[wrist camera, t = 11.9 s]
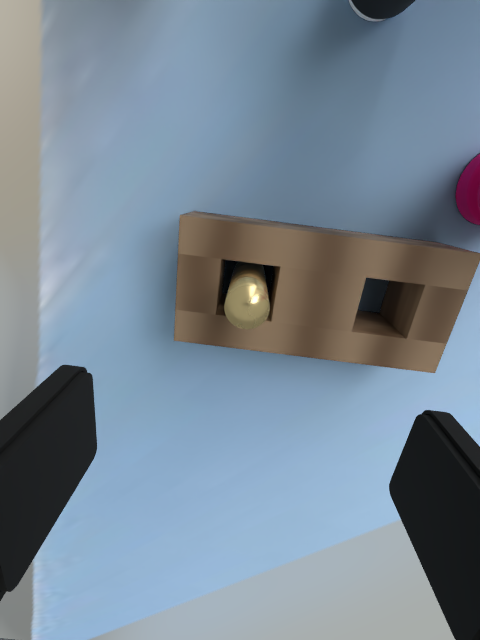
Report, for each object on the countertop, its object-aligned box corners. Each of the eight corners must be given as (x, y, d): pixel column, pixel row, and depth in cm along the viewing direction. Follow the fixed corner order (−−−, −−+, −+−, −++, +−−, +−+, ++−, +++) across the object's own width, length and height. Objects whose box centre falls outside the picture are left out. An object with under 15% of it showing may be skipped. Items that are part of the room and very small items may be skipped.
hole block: (187, 315, 32) (173, 340, 26) (194, 211, 28) (179, 215, 23) (403, 342, 32) (434, 373, 27) (437, 242, 29) (482, 253, 23)
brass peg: (235, 255, 30) (226, 283, 20) (266, 259, 30) (273, 289, 20) (231, 286, 31) (222, 326, 22) (262, 290, 31) (266, 331, 22)
